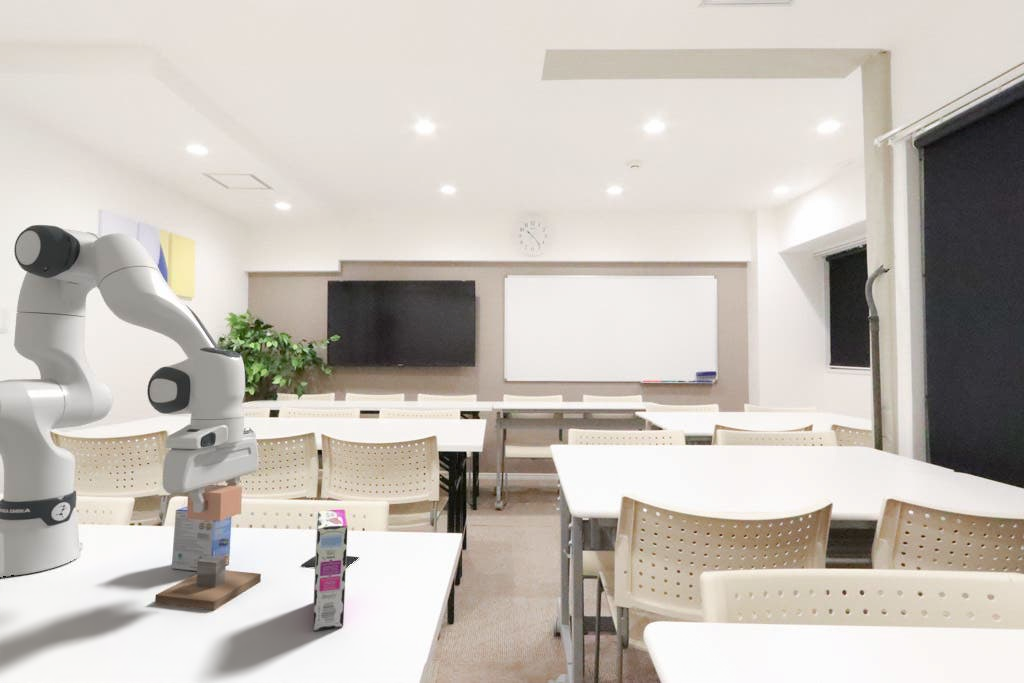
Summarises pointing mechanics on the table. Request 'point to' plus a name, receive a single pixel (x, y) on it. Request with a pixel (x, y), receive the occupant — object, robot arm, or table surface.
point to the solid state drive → (312, 561)
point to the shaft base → (208, 586)
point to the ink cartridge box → (199, 540)
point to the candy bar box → (330, 570)
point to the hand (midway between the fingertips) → (214, 506)
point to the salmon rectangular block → (218, 503)
